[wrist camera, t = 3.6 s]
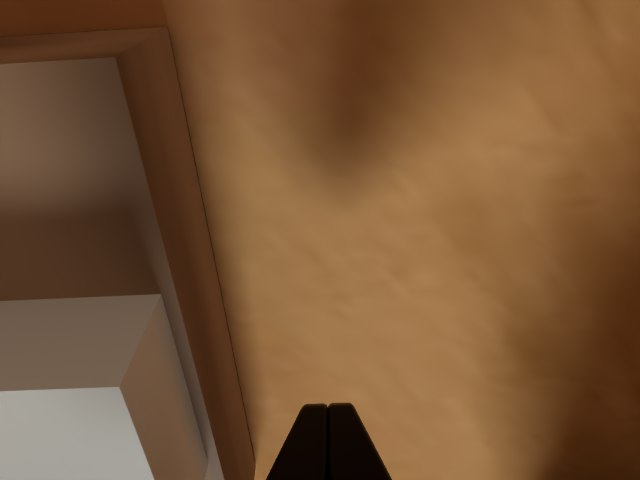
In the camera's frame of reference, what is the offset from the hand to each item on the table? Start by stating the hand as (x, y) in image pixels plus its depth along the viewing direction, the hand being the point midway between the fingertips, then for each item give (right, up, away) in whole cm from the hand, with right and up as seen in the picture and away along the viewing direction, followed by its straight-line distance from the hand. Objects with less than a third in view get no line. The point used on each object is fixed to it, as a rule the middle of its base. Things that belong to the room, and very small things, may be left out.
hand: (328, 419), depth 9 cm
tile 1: (-5, 0, +1) cm, 5 cm away
